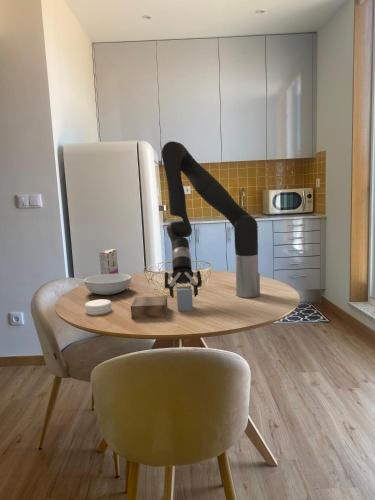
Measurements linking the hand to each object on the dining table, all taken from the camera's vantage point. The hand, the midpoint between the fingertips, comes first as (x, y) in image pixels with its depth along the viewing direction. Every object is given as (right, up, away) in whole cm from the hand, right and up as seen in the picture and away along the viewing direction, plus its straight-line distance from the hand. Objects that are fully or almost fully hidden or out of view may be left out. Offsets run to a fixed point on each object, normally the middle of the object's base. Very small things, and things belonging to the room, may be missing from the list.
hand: (184, 296), depth 145 cm
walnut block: (-13, -6, -2) cm, 14 cm away
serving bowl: (-35, -2, +31) cm, 47 cm away
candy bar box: (-38, +1, +51) cm, 64 cm away
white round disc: (-33, -6, +4) cm, 34 cm away
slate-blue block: (0, -5, +2) cm, 5 cm away
